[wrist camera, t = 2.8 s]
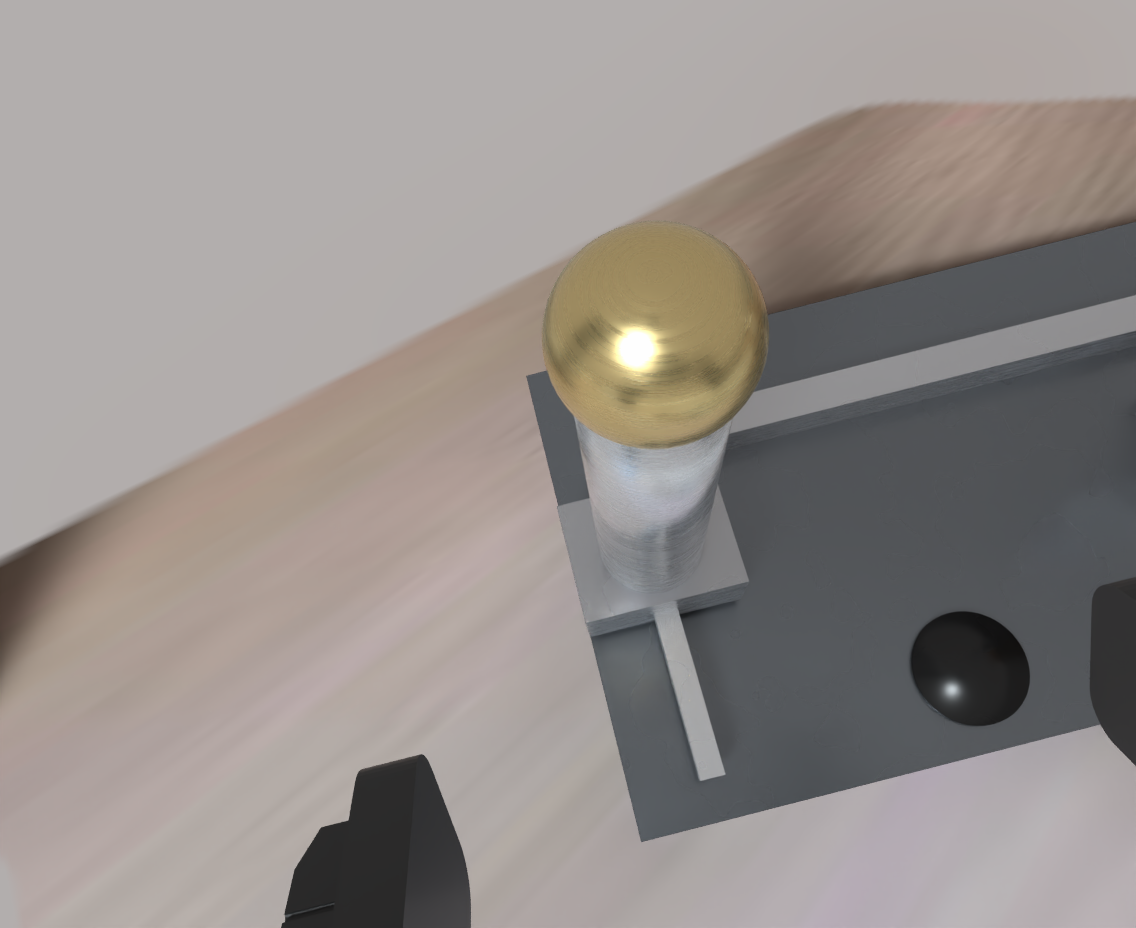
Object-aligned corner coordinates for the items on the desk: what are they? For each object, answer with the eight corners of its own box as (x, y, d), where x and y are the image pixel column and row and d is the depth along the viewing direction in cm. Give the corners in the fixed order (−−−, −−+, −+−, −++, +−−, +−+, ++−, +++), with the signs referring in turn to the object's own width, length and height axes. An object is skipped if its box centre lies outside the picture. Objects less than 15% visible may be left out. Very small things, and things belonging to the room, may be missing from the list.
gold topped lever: (630, 799, 21) (605, 807, 8) (563, 529, 23) (466, 213, 11) (790, 757, 21) (1016, 702, 8) (706, 492, 24) (779, 135, 11)
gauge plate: (641, 838, 23) (641, 844, 20) (534, 404, 28) (521, 356, 25) (1447, 631, 23) (1567, 607, 20) (1203, 234, 28) (1270, 167, 25)
